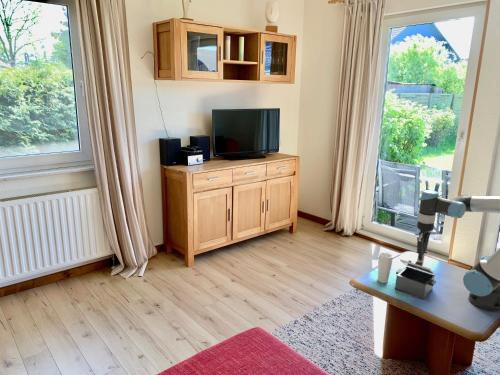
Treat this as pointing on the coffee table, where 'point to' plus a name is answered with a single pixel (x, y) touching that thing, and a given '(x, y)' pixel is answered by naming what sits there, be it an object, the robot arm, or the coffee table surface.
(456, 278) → the coffee table surface
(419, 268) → the lid
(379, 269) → the white hollow cylinder
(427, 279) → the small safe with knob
